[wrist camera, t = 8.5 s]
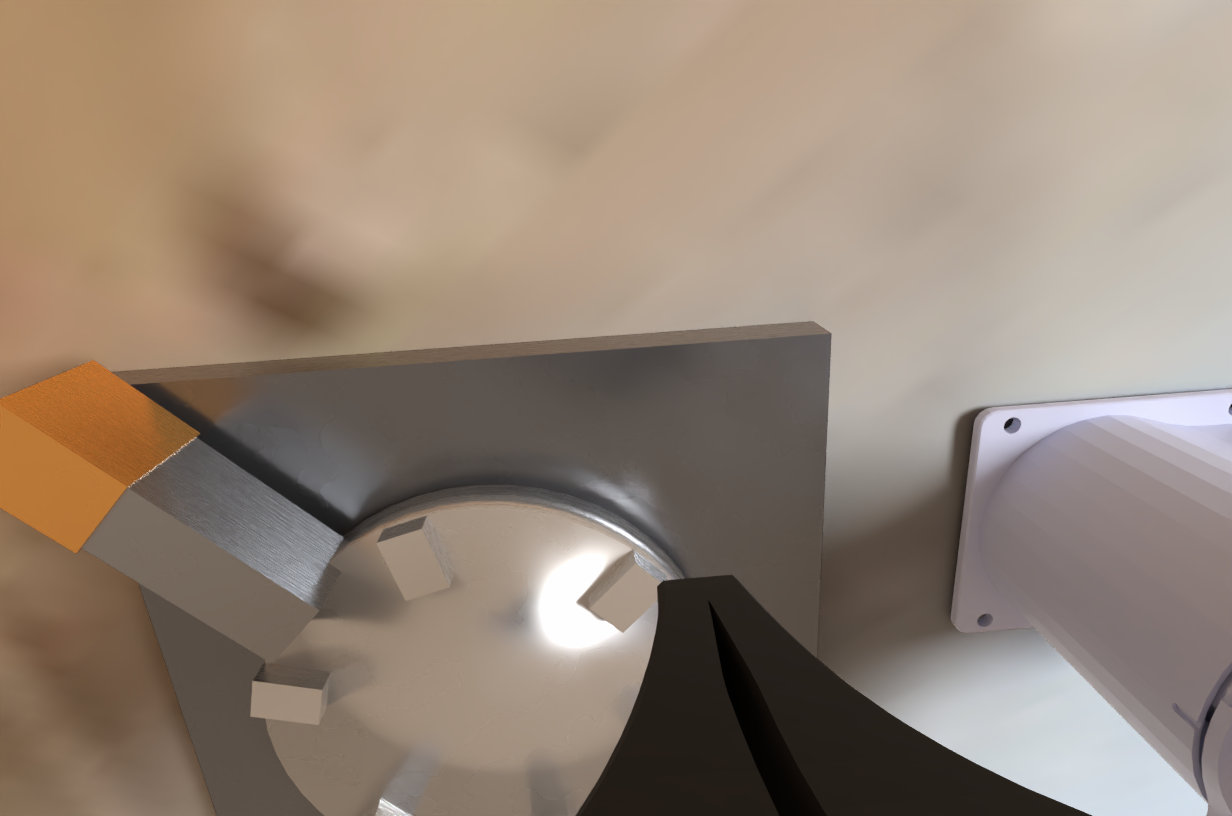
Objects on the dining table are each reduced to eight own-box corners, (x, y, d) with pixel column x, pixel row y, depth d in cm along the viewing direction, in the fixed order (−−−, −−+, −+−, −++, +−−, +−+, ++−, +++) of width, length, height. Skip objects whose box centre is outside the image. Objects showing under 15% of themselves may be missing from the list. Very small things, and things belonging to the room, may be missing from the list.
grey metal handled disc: (214, 193, 17) (130, 201, 13) (795, 652, 22) (832, 734, 19) (-47, 559, 19) (-166, 635, 16) (527, 886, 25) (520, 991, 22)
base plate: (813, 321, 20) (833, 334, 19) (795, 830, 27) (808, 870, 25) (108, 372, 20) (70, 389, 18) (270, 881, 26) (251, 924, 25)
